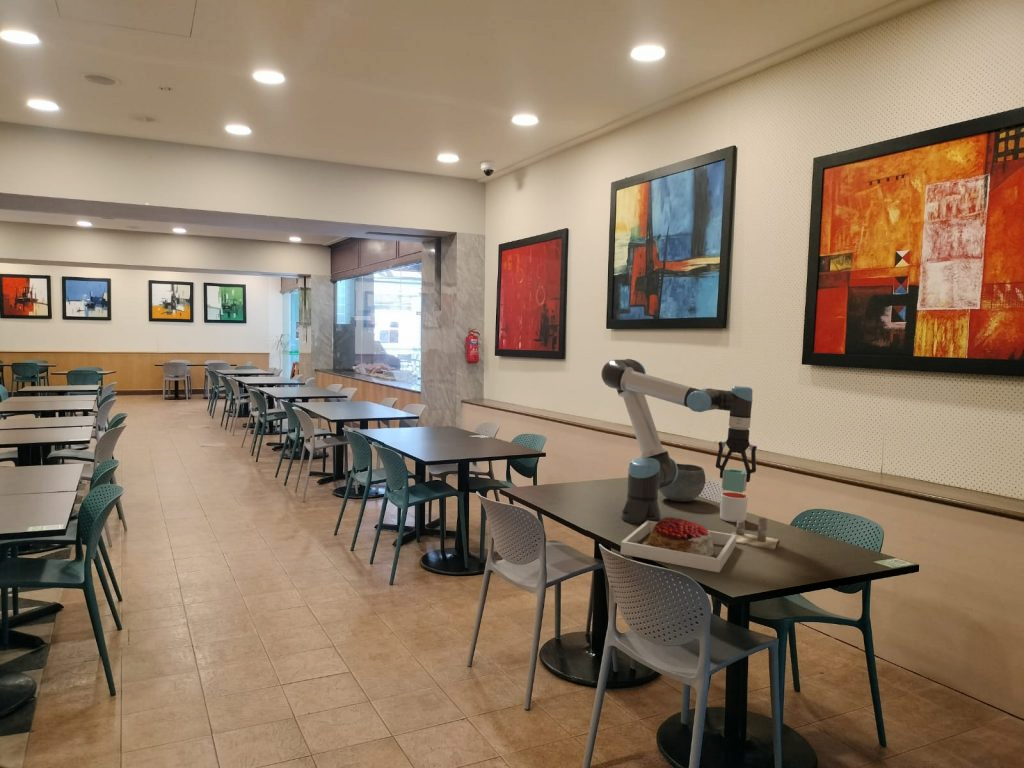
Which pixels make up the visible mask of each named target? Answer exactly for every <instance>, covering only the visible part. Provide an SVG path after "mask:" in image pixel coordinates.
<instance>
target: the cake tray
mask: <svg viewBox="0 0 1024 768" xmlns="http://www.w3.org/2000/svg"><path fill="white" fill-rule="evenodd" d="M657 523H658V522H654V521H648V520H647V521H646V522H645V523H644V524H640V526H638V528H635V530H634V531H633V532H631V533H630V534H629V535H628V536H626V537H625V538H624V539H622V540H621V542H620V555H625V556H629V557H635V558H641V559H645V560H650V561H655V562H662V563H667V564H672V565H677V566H682V567H688V568H693V569H698V570H699V569H700V570H704V571H708V572H714V573H720V572H721V571H722V569H723V567H724V566H725V564H726V563H727V561H728V559H729V558H730V556H731V554H732V553H733V551H734V550H735V548H736V544H737V543H736V535H733V534H731V533H726V532H720V531H715V530H708V529H707V530H708V531H709V532H710V534H711V536H712V541H713V545H720V546H724V547H723V548H722V549H721V551H720V552H719V554H718V555H717V557H714V556H712V557H708V556H703V555H697V554H692V553H686V552H681V551H675V550H670V549H664V548H659V547H653V546H647V545H642V544H641V543H639V544H638V540H639V542H640V541H641V540H642V539H643V538H645V537H646V536H647V535H648V534H651V532H652V531H653V528H654V526H655V525H656V524H657ZM635 541H636V542H635Z"/></svg>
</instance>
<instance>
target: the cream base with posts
mask: <svg viewBox="0 0 1024 768" xmlns="http://www.w3.org/2000/svg"><path fill="white" fill-rule="evenodd" d="M745 528H746V522H745V521H744V522H742V521H737V523H736V529H735V531H732V532H731V533H730V534H733V535H736V544H740V545H746V546H751V547H758V548H762V549H763V548H764V549H769V550H774V549H775V550H776V547H777V544H778V542H779V538H772V537H768V536H767V530H768V518H765V517H759V518H758V527H757V528H758V529H757V535H756V534H755V535H754V534H749V533H748V534H747V533H745Z"/></svg>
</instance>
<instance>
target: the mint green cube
mask: <svg viewBox="0 0 1024 768" xmlns="http://www.w3.org/2000/svg"><path fill="white" fill-rule="evenodd" d="M745 473H746V470H742V469H736V468H728V467H727V468H725V471H724V479H723V488H722V490H723V491H728V492H733V493H740V494H743V492H744V491H743V486H744V474H745Z"/></svg>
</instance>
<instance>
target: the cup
mask: <svg viewBox="0 0 1024 768" xmlns="http://www.w3.org/2000/svg"><path fill="white" fill-rule="evenodd" d="M747 509H748V496H747V495H745V494H743V493H740V492H733V491H728V492H725V491H724V492H722V493H721V494H720V507H719V517H720V519H721V520H723V521H725V522H727V523H736V524H737V521H742V522H745V521H746V520H747V511H748V510H747Z"/></svg>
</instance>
